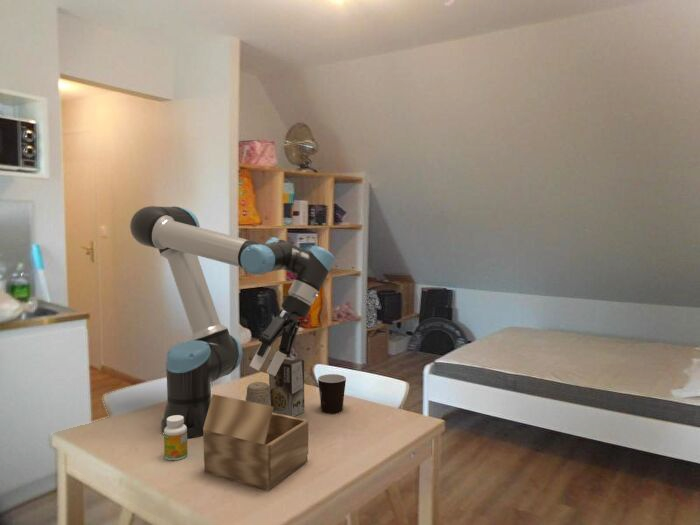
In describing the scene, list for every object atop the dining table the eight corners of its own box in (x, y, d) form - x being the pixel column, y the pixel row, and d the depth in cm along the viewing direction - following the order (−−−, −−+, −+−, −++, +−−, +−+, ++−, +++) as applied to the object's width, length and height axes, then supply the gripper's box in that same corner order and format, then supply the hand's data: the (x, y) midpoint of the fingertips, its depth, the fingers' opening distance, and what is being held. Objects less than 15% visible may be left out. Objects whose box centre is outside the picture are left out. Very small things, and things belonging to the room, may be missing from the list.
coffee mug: (342, 416, 157) (342, 383, 157) (314, 414, 159) (314, 381, 158) (350, 403, 169) (350, 372, 168) (324, 401, 171) (324, 370, 170)
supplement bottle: (159, 459, 129) (158, 420, 128) (174, 450, 134) (173, 412, 133) (177, 462, 127) (176, 423, 126) (192, 453, 132) (191, 415, 132)
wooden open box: (202, 471, 123) (201, 429, 122) (247, 444, 137) (247, 407, 137) (270, 491, 114) (269, 446, 113) (310, 460, 129) (310, 420, 128)
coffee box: (305, 411, 161) (305, 359, 160) (292, 418, 156) (291, 364, 155) (282, 405, 166) (281, 355, 165) (268, 412, 161) (268, 359, 160)
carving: (265, 431, 146) (265, 389, 145) (240, 428, 148) (240, 386, 147) (274, 423, 152) (274, 382, 151) (250, 420, 154) (250, 380, 153)
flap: (204, 429, 121) (202, 429, 121) (213, 394, 124) (212, 394, 123) (264, 444, 113) (263, 444, 113) (273, 406, 116) (272, 406, 115)
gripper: (299, 294, 132) (259, 372, 128) (321, 315, 156) (287, 381, 151) (274, 282, 134) (233, 359, 130) (299, 304, 158) (265, 370, 153)
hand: (262, 371), depth 140 cm, fingers open, 13 cm apart
